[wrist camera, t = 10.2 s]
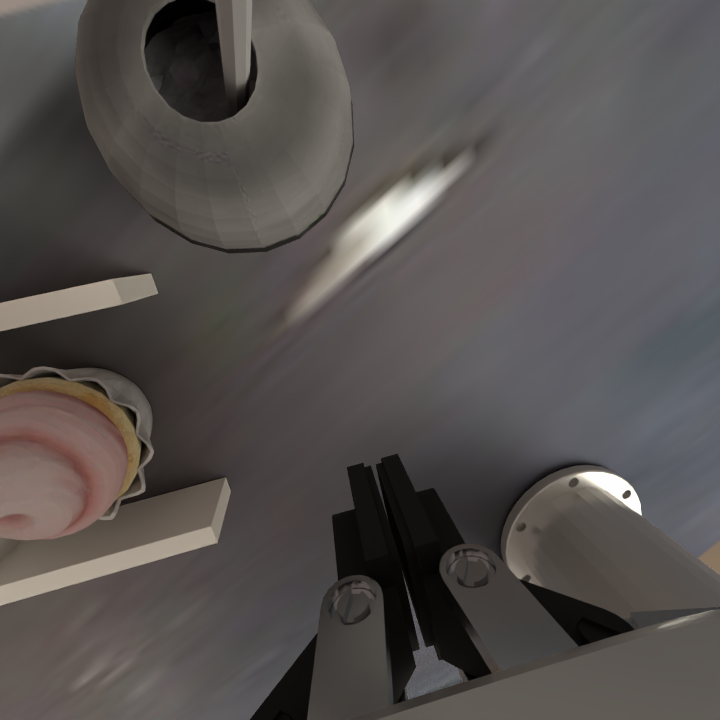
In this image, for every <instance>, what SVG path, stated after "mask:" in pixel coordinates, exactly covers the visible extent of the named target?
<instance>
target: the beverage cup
mask: <svg viewBox="0 0 720 720" xmlns="http://www.w3.org/2000/svg"><path fill="white" fill-rule="evenodd" d="M75 76H76V80H77V85H78V89H79V94H80V98H81V103H82V108H83V112H84V117H85V121H86V124H87V127H88V130H89V132H90V134H91V136H92V137H93V139H94V141H95V143H96V145H97V147H98V149H99V151H100V152H101V154H102V156H103V158H104V160H105V162H106V164H107V166H108V167H109V169H110V171H111V173H112V174H113V175H114V177H115V178H116V179H117V180H118V181H119V182H120V183H121V184H122V185H123V186H124V187H125V189H126V190H127V191H128V192H129V193H130V194H131V195H132V196H133V197H134V198H135V200H136V201H137V202H138V203H139V204H140V205H141V206H142V207H143V208H144V209H145V210H146V211H147V212H148V213H149V214H150V215H151V217H152V218H153V219H154V220H155V221H156V222H158V223H159V224H161V225H163V226H164V227H166V228H168V229H169V230H171V231H172V232H174V233H176V234H177V235H179V236H181V237H182V238H184V239H186V240H187V241H189V242H191V243H192V244H196V245H200V246H204V247H207V248H211V249H215V250H219V251H223V252H226V253H249V252H267V251H269V250H272V249H274V248H277V247H279V246H282V245H285V244H287V243H290V242H292V241H295V240H297V239H299V238H301V237H302V236H303V235H304V234H305V233H306V232H308V231H309V230H310V229H311V228H312V227H313V226H315V225H316V224H317V223H318V222H319V221H320V220H322V219H323V218H324V217H325V216H326V215H327V213H328V212H329V210H330V208H331V207H332V205H333V203H334V202H335V200H336V198H337V197H338V195H339V193H340V192H341V190H342V188H343V187H344V185H345V182H346V178H347V174H348V170H349V165H350V161H351V157H352V153H353V149H354V132H353V110H352V101H351V95H350V88H349V83H348V80H347V77H346V74H345V71H344V68H343V65H342V62H341V59H340V55H339V52H338V49H337V46H336V43H335V40H334V38H333V37H332V35H331V33H330V32H329V30H328V29H327V27H326V26H325V24H324V23H323V21H322V20H321V18H320V16H319V15H318V13H317V12H316V10H315V9H314V7H313V6H312V4H311V3H310V1H309V0H88V1H87V3H86V6H85V8H84V10H83V12H82V14H81V17H80V20H79V24H78V36H77V48H76V60H75Z"/></svg>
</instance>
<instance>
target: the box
mask: <svg viewBox="0 0 720 720" xmlns="http://www.w3.org/2000/svg"><path fill="white" fill-rule="evenodd" d="M155 294H158V291H157V288H156V286H155V283H154V280H153V277H152V275H151V273H150V274H143V275H136V276H129V277H123V278H116V279H110V280H105V281H101V282H96V283H91V284H87V285H82V286H77V287H72V288H68V289H63V290H58V291H54V292H49V293H44V294H40V295H35V296H30V297H26V298H21V299H16V300H12V301H7V302H2V303H0V331H4V330H9V329H13V328H18V327H22V326H27V325H32V324H36V323H41V322H45V321H50V320H54V319H59V318H63V317H68V316H72V315H77V314H81V313H86V312H90V311H95V310H100V309H104V308H109V307H113V306H118V305H122V304H126V303H129V302H132V301H136V300H139V299H142V298H145V297H149V296H152V295H155ZM230 493H231V490H230V487H229V485H228V482H227V479H226V477H225V478H221V479H217V480H214V481H210V482H206V483H203V484H199V485H195V486H192V487H188V488H184V489H181V490H177V491H173V492H170V493H166V494H162V495H159V496H155V497H151V498H148V499H144V500H140V501H137V502H133V503H129V504H126V505H122V506H119V508H118V511H117V514H116V516H115V517H114V518H113V519H112V520H100V519H97V520H96V521H95V522H93V523H92V524H91V525H90V526H88V527H86V528H84V529H82V530H80V531H78V532H76V533H74V534H70V535H66V536H62V537H58V538H55V539H37V540H36V539H35V540H15V539H8V538H1V537H0V606H1V605H4V604H8V603H11V602H15V601H18V600H21V599H25V598H28V597H32V596H35V595H39V594H42V593H46V592H49V591H53V590H56V589H59V588H63V587H66V586H70V585H73V584H77V583H80V582H84V581H87V580H91V579H94V578H97V577H101V576H104V575H108V574H111V573H115V572H118V571H122V570H125V569H128V568H132V567H135V566H139V565H142V564H146V563H149V562H153V561H156V560H160V559H163V558H166V557H170V556H173V555H177V554H180V553H184V552H187V551H191V550H194V549H198V548H201V547H204V546H208V545H211V544H215V543H218V539H219V535H220V531H221V528H222V524H223V520H224V516H225V512H226V508H227V505H228V501H229V497H230Z"/></svg>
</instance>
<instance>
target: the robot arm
mask: <svg viewBox="0 0 720 720" xmlns="http://www.w3.org/2000/svg"><path fill="white" fill-rule="evenodd" d="M381 461H382V463H379V464H376V468H377V472H378V477H379V481H380V486H381V490H382V494H383V499H384V503H385V508H386V512H387V516H388V519H387V516H386V513H385V509H384V506H383V503H382V500H381V497H380V493H379V490H378V487H377V484H376V481H375V477H374V474H373V471H372V468H371V466H367V467H364V464H363V463H361V464H357V465H353V466H349V467H347V470H348V475H349V481H350V486H351V491H352V496H353V501H354V506H355V509H353V510H350V511H346V512H342V513H339V514H335V515H332V521H333V532H334V542H335V552H336V562H337V573H338V582H336V583H335V584H334V585H333V586H332V587H331V588H330V589H329V590H328V591H327V593H326V594H325V596H324V598H323V601H322V605H321V611H320V619H319V627H318V633H317V634H316V635H315V637H314V638H313V639H312V640H311V642H310V643H309V644H308V646H307V647H306V648H305V649H304V651H303V652H302V653H301V655H300V656H299V657H298V658H297V660H296V661H295V662H294V664H293V665H292V666H291V667H290V669H289V670H288V671H287V673H286V674H285V675H284V676H283V678H282V679H281V680H280V682H279V683H278V684H277V685H276V687H275V688H274V689H273V691H272V692H271V693H270V694H269V696H268V697H267V698H266V700H265V701H264V702H263V703H262V705H261V706H260V707H259V709H258V710H257V711H256V712H255V714H254V715H253V716H252V718H251V719H250V720H720V575H719V574H718V573H717V572H716V571H714V570H713V569H712V568H710V567H709V566H708V565H706V564H705V563H704V562H702V561H701V560H700V559H698V558H697V557H696V556H694V555H693V554H692V553H690V552H689V551H688V550H686V549H685V548H684V547H682V546H681V545H680V544H678V543H677V542H676V541H674V540H673V539H672V538H670V537H669V536H668V535H667V534H665V533H664V532H663V531H661V530H660V529H659V528H657V527H656V526H655V525H653V524H652V523H651V522H649V521H648V520H647V519H645V518H644V517H643V516H641V504H640V501H639V498H638V495H637V493H636V492H635V490H634V488H633V487H632V485H630V484H629V483H628V482H627V481H626V480H625V479H624V478H622V477H621V476H619V475H618V474H616V473H615V472H613V471H611V470H609V469H606V468H604V467H601V466H594V465H579V466H573V467H569V468H565V469H561V470H559V471H557V472H554V473H552V474H550V475H548V476H546V477H545V478H543V479H542V480H540V481H538V482H537V483H536V484H534V485H533V486H532V487H531V488H530V489H529V490H527V491H526V492H525V493H524V494H523V496H522V497H521V498H520V499H519V500H518V501H517V503H516V504H515V506H514V507H513V509H512V510H511V512H510V514H509V515H508V518H507V520H506V522H505V525H504V527H503V532H502V537H501V554H502V558H503V561H502V560H501V559H500V558H499V557H498V556H497V555H496V554H495V553H494V552H493V551H492V550H490V549H488V548H486V547H484V546H482V545H477V544H465V542H464V541H463V539H462V537H461V535H460V534H459V532H458V530H457V528H456V526H455V525H454V523H453V521H452V519H451V518H450V516H449V514H448V512H447V510H446V509H445V507H444V505H443V503H442V502H441V500H440V498H439V496H438V494H437V493H436V491H435V490H434V488H430V489H427V490H423V491H419V492H415V490H414V487H413V485H412V483H411V481H410V479H409V477H408V475H407V473H406V471H405V468H404V466H403V464H402V462H401V460H400V458H399V456H398V454H395V455H391V456H387V457H384V458H381ZM388 521H389V522H388ZM402 571H403V573H402ZM403 574H404V577H403ZM404 578H405V581H406V584H407V587H408V591H409V594H410V597H411V600H412V604H413V607H414V610H415V613H416V617H417V620H418V623H419V626H420V630H421V633H422V636H423V639H424V642H425V645H426V647H429V646H432V645H434V647H435V650H436V653H437V656H438V659H439V660H442V659H443V660H445V661H446V662H448V663H450V664H452V665H454V666H456V667H457V668H458V670H459V674H460V676H461V679H462V681H463V683H460V684H457V685H454V686H451V687H447V688H444V689H441V690H438V691H435V692H432V693H428V694H425V695H422V696H419V697H416V698H413V699H409V700H408V695H407V691H406V685H407V683H408V681H409V679H410V677H411V675H412V674H413V672H414V670H415V668H416V665H415V661H414V657H413V652H412V651H416V650H419V644H418V640H417V635H416V631H415V626H414V622H413V617H412V613H411V608H410V604H409V599H408V595H407V590H406V586H405V581H404Z"/></svg>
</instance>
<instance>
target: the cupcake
mask: <svg viewBox="0 0 720 720" xmlns="http://www.w3.org/2000/svg"><path fill="white" fill-rule="evenodd" d="M152 424H153V417H152V411H151V406H150V404H149V402H148V400H147V398H146V397H145V395H144V394H143V393H142V391H141V390H140V389H139V388H138V387H137V386H136V385H135V384H134V383H133V382H131V381H130V380H128V379H127V378H125V377H123V376H122V375H120V374H117V373H115V372H112V371H110V370H107V369H100V368H76V369H69V370H63V369H57V368H51V367H45V366H43V367H36V368H32V369H31V370H29V371H28V372H27V373H25V374H24V375H14V374H0V537H1V538H8V539H15V540H35V539H36V540H37V539H55V538H58V537H62V536H66V535H70V534H74V533H76V532H78V531H80V530H82V529H84V528H86V527H88V526H90V525H91V524H92V523H93V522H95V521H96V520H97V519H100V520H112V519H113V518H114V517H115V516H116V514H117V511H118V508H119V506H120V503H121V500H123V499H126V498H130V497H133V496H136V495H140V494H141V493H143V492H145V486H146V485H145V477H144V468H143V467H144V466H145V465H146V464H147V463H148V462H149V461H150V460H151V458H152V456H153V454H154V450H153V447H152V444H151V441H150V436H151V432H152Z"/></svg>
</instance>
